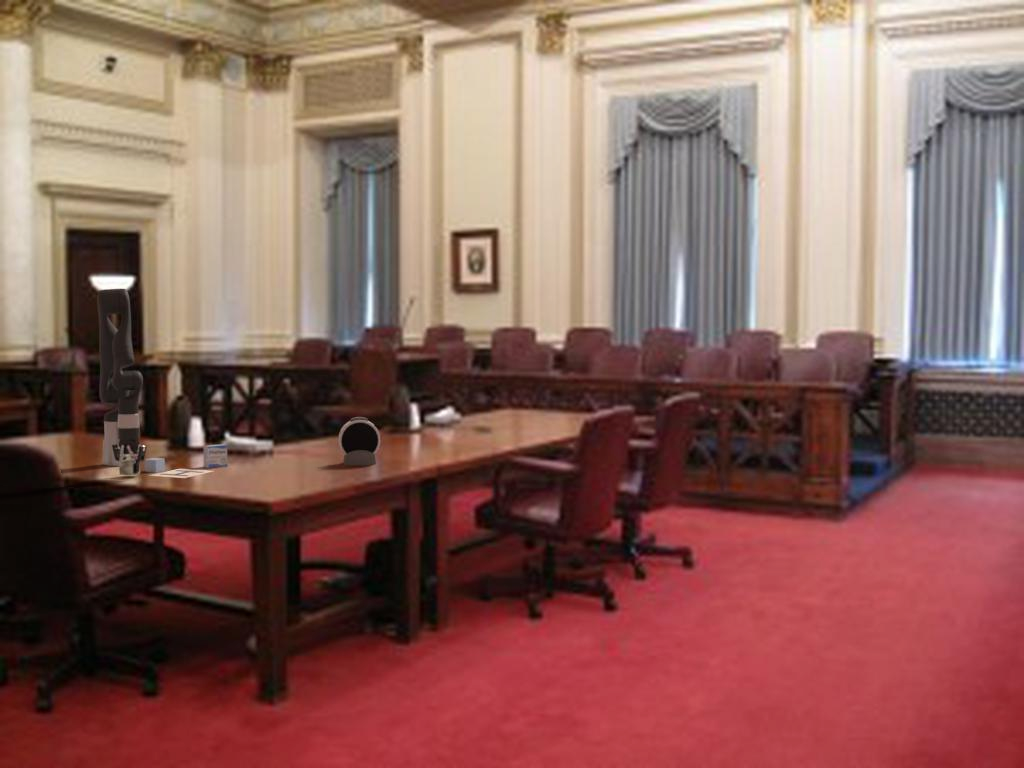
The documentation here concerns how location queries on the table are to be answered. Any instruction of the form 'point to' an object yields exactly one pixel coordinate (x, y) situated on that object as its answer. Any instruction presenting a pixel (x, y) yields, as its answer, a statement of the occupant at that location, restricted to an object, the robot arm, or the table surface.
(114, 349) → the robot arm
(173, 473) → the letter sheet
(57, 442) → the table surface
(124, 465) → the block
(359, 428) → the alarm clock
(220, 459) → the medicine box
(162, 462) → the blue cube
